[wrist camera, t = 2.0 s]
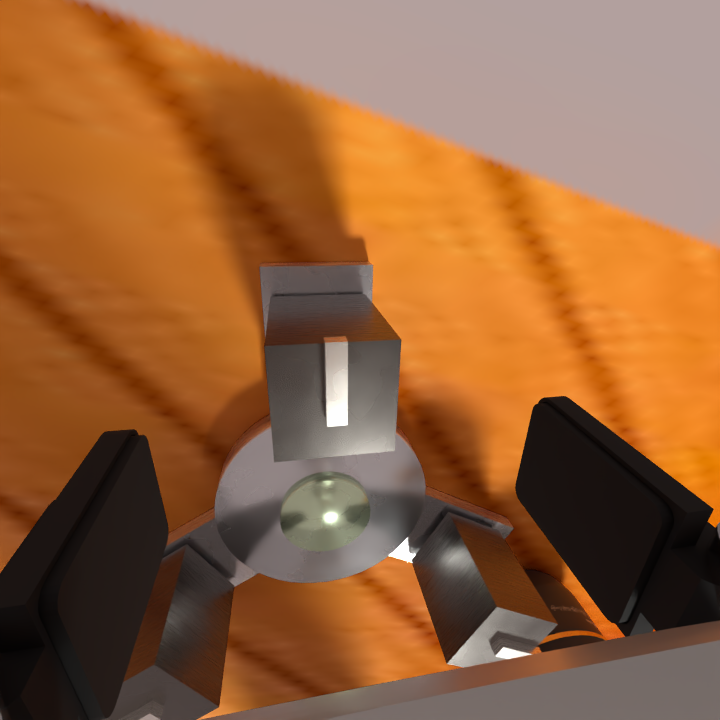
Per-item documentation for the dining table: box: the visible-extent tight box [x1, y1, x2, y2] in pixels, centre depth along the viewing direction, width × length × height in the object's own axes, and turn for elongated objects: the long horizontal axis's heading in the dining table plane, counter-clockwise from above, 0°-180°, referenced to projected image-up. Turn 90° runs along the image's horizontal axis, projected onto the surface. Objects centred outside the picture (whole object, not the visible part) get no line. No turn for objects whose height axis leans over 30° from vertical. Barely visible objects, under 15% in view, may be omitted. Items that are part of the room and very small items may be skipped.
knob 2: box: [264, 294, 401, 462], centre depth 16 cm, size 5×4×7 cm
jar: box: [524, 570, 607, 652], centre depth 29 cm, size 10×10×8 cm
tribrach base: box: [162, 262, 514, 587], centre depth 24 cm, size 26×22×3 cm
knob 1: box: [102, 544, 234, 720], centre depth 21 cm, size 5×4×7 cm
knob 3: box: [411, 512, 558, 667], centre depth 24 cm, size 5×4×7 cm
